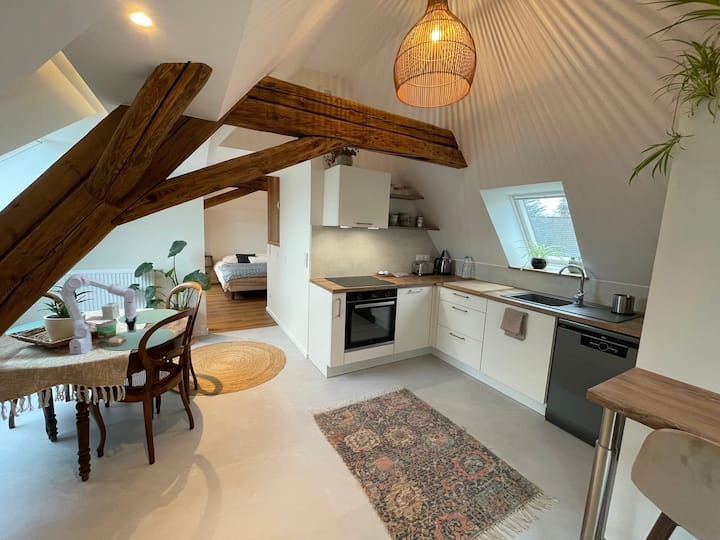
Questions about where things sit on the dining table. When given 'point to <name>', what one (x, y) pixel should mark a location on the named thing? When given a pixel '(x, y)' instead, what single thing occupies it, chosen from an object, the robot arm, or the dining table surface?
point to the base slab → (117, 343)
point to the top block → (116, 339)
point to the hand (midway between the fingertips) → (131, 329)
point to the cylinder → (133, 330)
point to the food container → (106, 329)
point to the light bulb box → (110, 311)
